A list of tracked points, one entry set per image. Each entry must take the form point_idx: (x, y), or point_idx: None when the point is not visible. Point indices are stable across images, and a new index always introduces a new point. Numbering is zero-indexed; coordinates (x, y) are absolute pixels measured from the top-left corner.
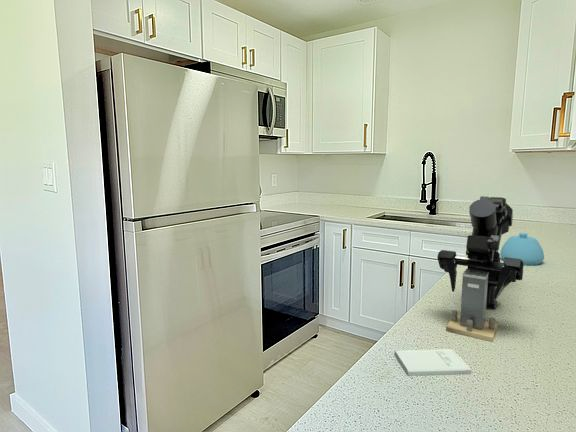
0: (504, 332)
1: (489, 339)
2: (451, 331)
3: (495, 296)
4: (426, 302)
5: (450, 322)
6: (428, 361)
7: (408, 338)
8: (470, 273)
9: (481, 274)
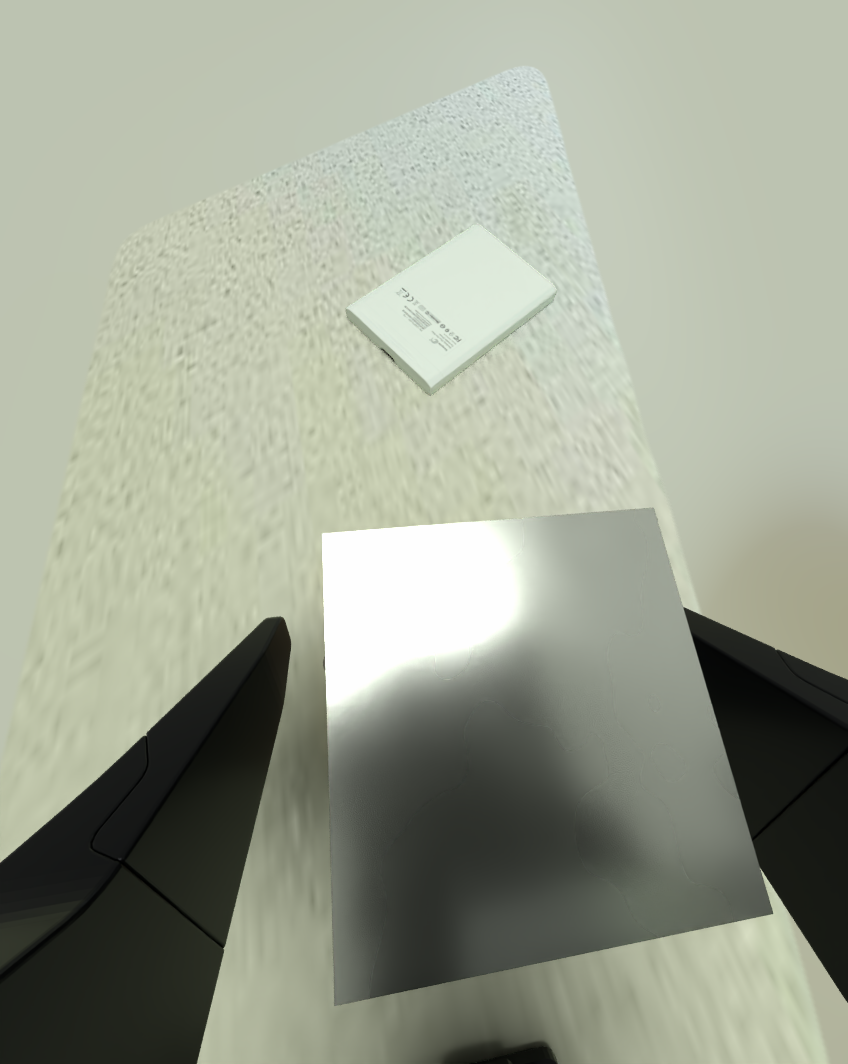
0: (297, 700)
1: None
2: None
3: (272, 617)
4: None
5: None
6: (455, 281)
7: (575, 406)
8: (576, 598)
9: (414, 656)
